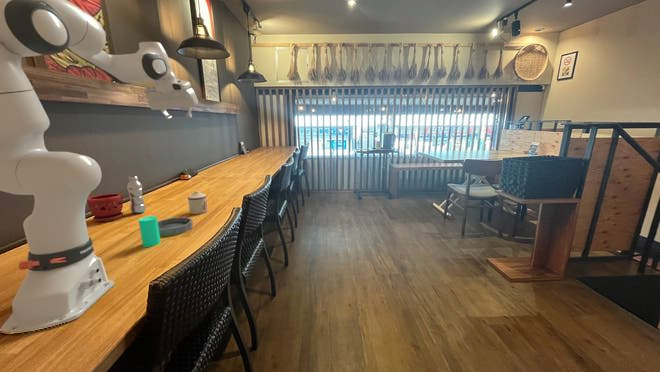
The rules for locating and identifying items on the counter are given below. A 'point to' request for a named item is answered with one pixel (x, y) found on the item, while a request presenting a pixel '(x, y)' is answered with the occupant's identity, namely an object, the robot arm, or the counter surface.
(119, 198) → the plant pot
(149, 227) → the candle
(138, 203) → the plastic bottle
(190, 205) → the teacup with lid
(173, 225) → the dish
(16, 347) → the counter surface
